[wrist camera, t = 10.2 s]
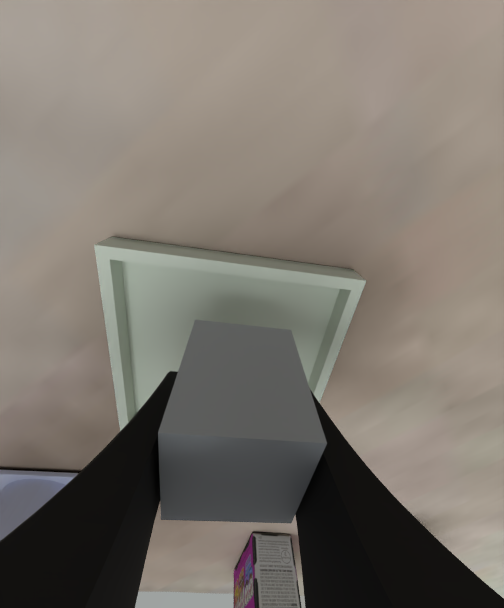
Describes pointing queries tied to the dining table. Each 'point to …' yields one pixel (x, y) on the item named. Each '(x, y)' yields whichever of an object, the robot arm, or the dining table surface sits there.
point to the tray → (213, 308)
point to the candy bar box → (267, 573)
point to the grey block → (238, 428)
